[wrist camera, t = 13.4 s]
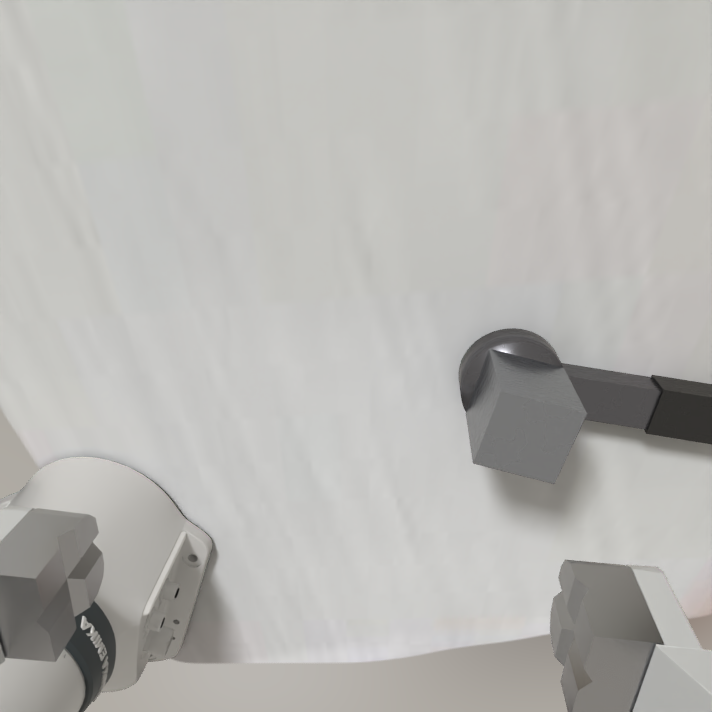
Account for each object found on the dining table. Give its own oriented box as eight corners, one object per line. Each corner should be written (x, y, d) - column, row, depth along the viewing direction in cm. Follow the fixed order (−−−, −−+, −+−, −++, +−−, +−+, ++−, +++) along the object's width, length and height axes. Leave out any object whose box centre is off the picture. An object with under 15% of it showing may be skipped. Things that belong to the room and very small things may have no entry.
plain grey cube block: (536, 431, 42) (554, 483, 36) (465, 413, 41) (473, 463, 36) (563, 367, 39) (587, 413, 34) (489, 348, 39) (500, 391, 34)
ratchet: (710, 452, 44) (750, 501, 39) (449, 409, 44) (454, 453, 39) (750, 365, 41) (798, 407, 36) (470, 321, 41) (477, 355, 36)
